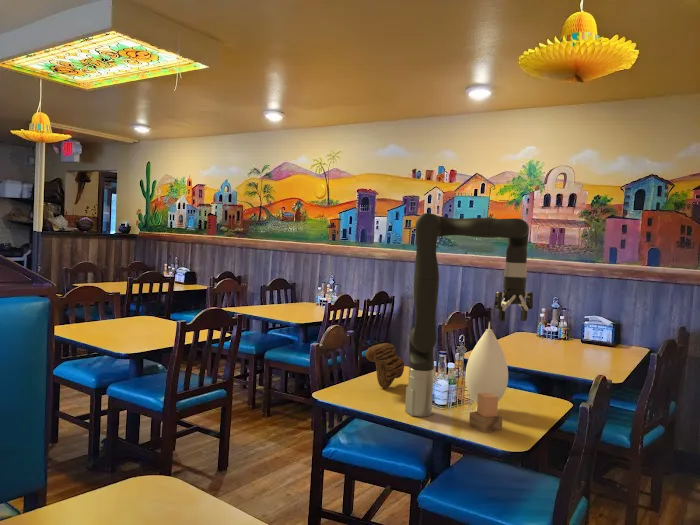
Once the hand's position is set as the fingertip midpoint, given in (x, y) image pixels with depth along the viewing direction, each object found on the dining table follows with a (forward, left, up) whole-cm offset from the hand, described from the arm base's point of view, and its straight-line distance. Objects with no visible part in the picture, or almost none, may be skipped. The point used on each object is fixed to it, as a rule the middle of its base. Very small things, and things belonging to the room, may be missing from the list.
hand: (512, 321), depth 194 cm
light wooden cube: (-8, +1, -33) cm, 34 cm away
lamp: (+2, +18, -38) cm, 42 cm away
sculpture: (-27, +53, -38) cm, 71 cm away
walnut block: (-8, +1, -38) cm, 39 cm away
